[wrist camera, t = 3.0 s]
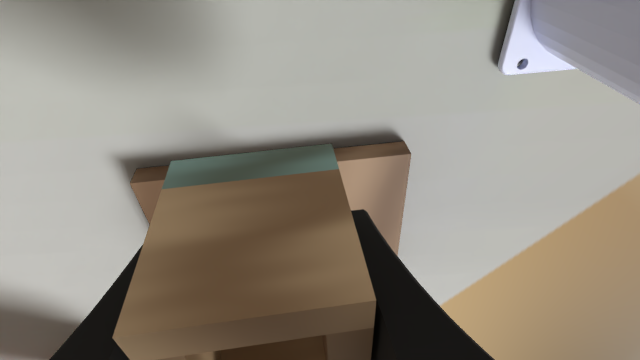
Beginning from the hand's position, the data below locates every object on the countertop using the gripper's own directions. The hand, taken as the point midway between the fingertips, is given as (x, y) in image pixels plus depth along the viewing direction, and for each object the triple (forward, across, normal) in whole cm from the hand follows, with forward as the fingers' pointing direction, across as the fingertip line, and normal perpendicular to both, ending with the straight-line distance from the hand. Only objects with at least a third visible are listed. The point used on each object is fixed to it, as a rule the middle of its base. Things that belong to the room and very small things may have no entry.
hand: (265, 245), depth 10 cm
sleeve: (+2, 0, 0) cm, 2 cm away
